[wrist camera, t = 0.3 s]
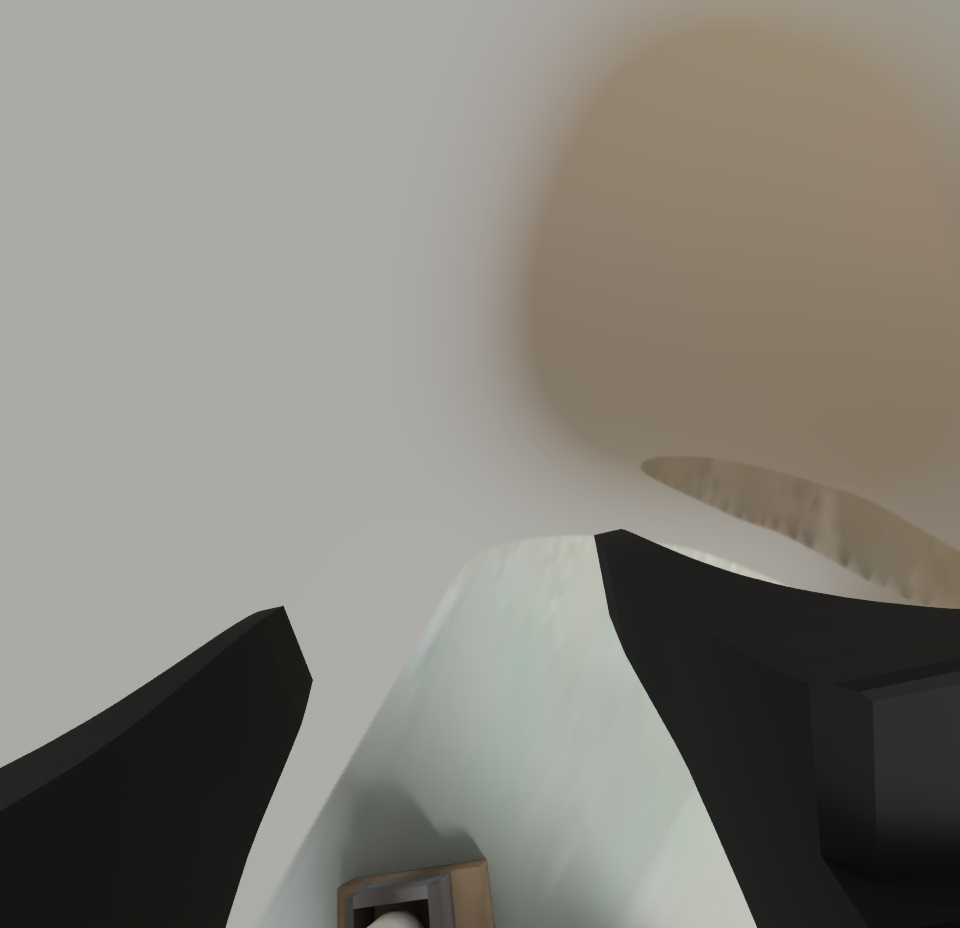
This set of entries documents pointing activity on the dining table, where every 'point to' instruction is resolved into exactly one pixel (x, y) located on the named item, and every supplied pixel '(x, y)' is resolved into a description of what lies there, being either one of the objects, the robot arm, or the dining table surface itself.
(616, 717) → the dining table surface
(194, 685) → the robot arm
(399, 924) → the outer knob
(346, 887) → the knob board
